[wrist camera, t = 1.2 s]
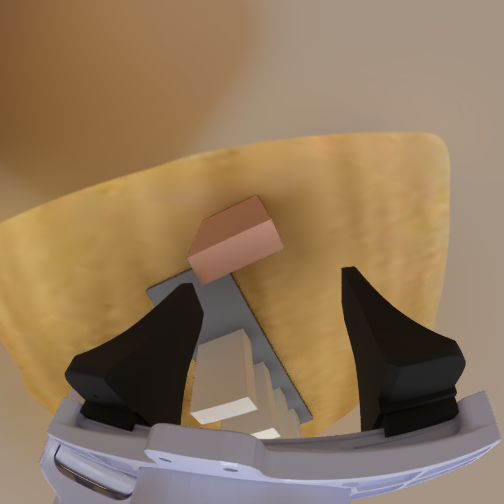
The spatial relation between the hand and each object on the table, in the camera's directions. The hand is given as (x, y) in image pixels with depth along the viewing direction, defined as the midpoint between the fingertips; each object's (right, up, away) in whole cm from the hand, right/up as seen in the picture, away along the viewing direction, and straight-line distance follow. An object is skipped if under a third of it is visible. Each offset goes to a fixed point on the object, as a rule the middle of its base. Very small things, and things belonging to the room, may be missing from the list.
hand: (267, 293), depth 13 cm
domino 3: (-1, -12, +16) cm, 20 cm away
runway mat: (-1, -11, +16) cm, 20 cm away
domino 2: (-4, -7, +14) cm, 16 cm away
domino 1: (-2, +5, +10) cm, 12 cm away
